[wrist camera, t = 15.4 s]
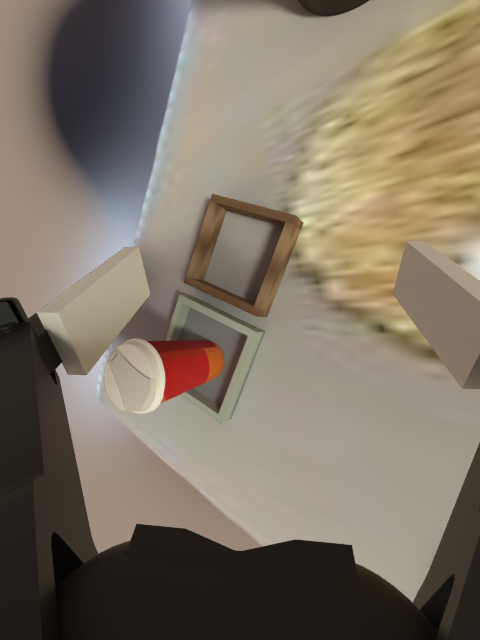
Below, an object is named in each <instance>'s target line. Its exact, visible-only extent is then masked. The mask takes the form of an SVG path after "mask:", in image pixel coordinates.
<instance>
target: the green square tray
mask: <svg viewBox="0 0 480 640" xmlns="http://www.w3.org/2000/svg"><path fill="white" fill-rule="evenodd" d="M264 332H265V331H262V330H260V329H258V328H256V327H254V326H252V325H250V324H248V323H246V322H244V321H242V320H240V319H238V318H236V317H234V316H231V315H229V314H227V313H225V312H223V311H221V310H219V309H217V308H215V307H213V306H211V305H209V304H207V303H205V302H203V301H200V300H198V299H196V298H194V297H192V296H190V295H181V294H180V295H179V298H178V301H177V304H176V307H175V310H174V313H173V317H172V320H171V323H170V326H169V329H168V332H167V335H166V338H165V341H175V340H208V341H212V342H214V343H216V344H217V345H218V346H219V347H220V349H221V350H222V353H223V356H224V367H223V370H222V372H221V373H220V375H219V376H217V377H216V378H214V379H213V380H211V381H209V382H207V383H204V384H202V385H200V386H198V387H196V388H193V389H191V390H189V391H187V392H185V393H182V394H180V395H181V396H182V397H184V398H185V399H186V400H188V401H189V402H191V403H192V404H193V405H195V406H196V407H198V408H199V409H201V410H202V411H203V412H205V413H206V414H208V415H209V416H210V417H212V418H213V419H215V420H216V421H218V422H219V423H220V424H223V423H224V422H226V421H228V420H229V419H231V417H232V414H233V412H234V409H235V406H236V404H237V401H238V399H239V396H240V394H241V391H242V389H243V386H244V383H245V381H246V378H247V376H248V373H249V371H250V368H251V366H252V363H253V360H254V358H255V355H256V353H257V350H258V348H259V345H260V343H261V340H262V337H263V335H264Z"/></svg>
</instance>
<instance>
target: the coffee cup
mask: <svg viewBox="0 0 480 640" xmlns="http://www.w3.org/2000/svg"><path fill="white" fill-rule="evenodd" d="M223 367H224V356H223V353H222V350H221V349H220V347H219V346H218V345H217V344H216V343H214V342H212V341H208V340H175V341H145V340H142V339H138V338H134V339H129V340H127V341H125V342H124V343H123V344H121V345H119V346H117V349H116V350H114V351H113V352H112V354H111V355H110V357H109V360H107V361H106V365H105V372H104V378H105V385H106V389H107V392H108V394H109V396H110V398H111V400H112V401H113V403H114V404H115V405H116V406H117V407H118V408H119V409H121V410H123V411H131V412H134V413H139V414H143V413H147V412H151V411H154V410H155V409H156V408H157V407H158V406H159V404H160V403H162V402H165V401H167V400H169V399H171V398H173V397H176V396H178V395H180V394H182V393H185V392H187V391H189V390H191V389H193V388H196V387H198V386H200V385H202V384H204V383H207V382H209V381H211V380H213V379H214V378H216V377H217V376H219V375H220V373H221V372H222V370H223Z"/></svg>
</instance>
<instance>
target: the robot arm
mask: <svg viewBox="0 0 480 640" xmlns="http://www.w3.org/2000/svg"><path fill="white" fill-rule="evenodd" d="M366 1H367V0H299V2H300V3H301V4H302V5H303V6H304V7H305V8H306V9H307V10H309V11H311V12H313V13H317V14H322V15H331V14H337V13H341V12H345V11H348V10H350V9H353V8H355V7H357V6H359V5H361V4H362V3H364V2H366ZM149 295H150V290H149V286H148V282H147V278H146V274H145V270H144V266H143V262H142V258H141V254H140V250H139V247H124V248H123V249H122V250H120V251H119V252H118V253H116V254H115V255H113V256H112V257H111V258H109V259H108V260H107V261H105V262H104V263H103V264H101V265H100V266H99V267H98V268H96V269H95V270H93V271H92V272H91V273H89V274H88V275H87V276H85V277H84V278H83V279H81V280H80V281H78V282H77V283H76V284H74V285H73V286H72V287H70V288H69V289H68V290H66V291H65V292H64V293H62V294H61V295H60V296H58V297H57V298H56V299H54V300H53V301H51V302H50V303H49V304H47V305H46V306H45V307H43V308H42V309H41V310H39V311H38V312H37V313H35V314H34V315H33V316H31V317H30V318H29V319H28V317H27V315H26V314H25V312H24V310H23V308H22V306H21V304H20V302H19V300H18V299H17V298H12V297H10V298H2V299H0V640H480V443H479V446H478V448H477V451H476V453H475V456H474V458H473V461H472V463H471V466H470V468H469V471H468V473H467V476H466V478H465V481H464V484H463V486H462V489H461V491H460V494H459V496H458V499H457V501H456V504H455V506H454V509H453V511H452V514H451V516H450V519H449V521H448V524H447V527H446V529H445V532H444V534H443V537H442V539H441V542H440V544H439V547H438V549H437V552H436V554H435V557H434V559H433V562H432V565H431V567H430V569H429V572H428V574H427V576H426V578H425V580H424V582H423V584H422V586H421V588H420V589H419V591H418V593H417V595H416V597H415V599H414V601H413V603H412V602H411V601H410V600H409V599H408V598H407V597H406V596H405V595H404V594H402V593H401V592H400V591H399V590H398V589H397V588H395V587H394V586H393V585H392V584H390V583H389V582H387V581H386V580H385V579H383V578H382V577H380V576H379V575H377V574H375V573H374V572H372V571H370V570H368V569H367V568H365V567H363V566H360V565H358V564H356V563H355V560H354V554H353V549H352V545H345V544H335V543H325V542H315V541H305V540H291V541H287V542H282V543H277V544H273V545H268V546H263V547H259V548H254V549H249V550H245V551H235V550H232V549H230V548H228V547H225V546H223V545H221V544H219V543H216V542H214V541H212V540H210V539H208V538H205V537H203V536H201V535H199V534H196V533H194V532H192V531H189V530H187V529H182V528H173V527H162V526H152V525H142V524H136V527H135V530H134V533H133V536H132V538H131V541H128V542H124V543H122V544H119V545H116V546H113V547H111V548H109V549H108V550H105V551H103V552H101V553H99V554H98V552H97V550H96V548H95V545H94V542H93V539H92V536H91V532H90V527H89V522H88V517H87V512H86V507H85V502H84V497H83V492H82V487H81V482H80V477H79V473H78V468H77V463H76V458H75V453H74V448H73V444H72V438H71V433H70V428H69V424H68V418H67V414H66V409H65V404H64V399H63V394H62V389H61V385H60V379H59V376H58V374H57V372H56V370H55V369H56V368H57V367H58V366H59V365H60V363H62V364H63V366H64V368H65V370H66V372H67V374H69V375H87V374H88V372H89V371H90V370H91V369H92V368H93V366H94V365H95V364H96V362H97V361H98V360H99V359H100V357H101V356H102V355H103V354H104V352H105V351H106V350H107V348H108V347H109V346H110V345H111V343H112V342H113V341H114V340H115V338H116V337H117V336H118V335H119V333H120V332H121V331H122V329H123V328H124V327H125V326H126V324H127V323H128V322H129V321H130V319H131V318H132V317H133V316H134V314H135V313H136V312H137V310H138V309H139V308H140V307H141V305H142V304H143V303H144V302H145V300H146V299H147V298H148V297H149ZM393 295H394V296H395V298H396V299H397V300H398V302H399V303H400V304H401V306H402V307H403V308H404V310H405V311H406V313H407V314H408V315H409V317H410V318H411V319H412V321H413V322H414V323H415V325H416V326H417V328H418V329H419V330H420V332H421V333H422V334H423V336H424V337H425V338H426V340H427V341H428V343H429V344H430V345H431V347H432V348H433V349H434V351H435V352H436V353H437V355H438V356H439V358H440V359H441V360H442V362H443V363H444V364H445V366H446V367H447V368H448V370H449V371H450V373H451V374H452V375H453V377H454V378H455V379H456V381H457V382H458V383H459V385H460V386H461V388H465V389H480V281H479V280H478V279H476V278H475V277H473V276H472V275H471V274H469V273H468V272H466V271H465V270H464V269H462V268H461V267H460V266H458V265H457V264H455V263H454V262H453V261H451V260H450V259H448V258H447V257H446V256H444V255H443V254H441V253H440V252H439V251H437V250H436V249H434V248H433V247H432V246H430V245H429V244H427V243H426V242H425V241H406V245H405V249H404V253H403V257H402V261H401V264H400V268H399V272H398V276H397V280H396V284H395V288H394V292H393Z"/></svg>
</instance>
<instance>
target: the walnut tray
mask: <svg viewBox="0 0 480 640" xmlns="http://www.w3.org/2000/svg"><path fill="white" fill-rule="evenodd" d="M227 210H229V211H233V212H236V213H240V214H243V215H247V216H250V217H254V218H258V219H261V220H265V221H268V222H272V223H275V224H279V225H282V226H284V228H283V230H282V233H281V235H280V238H279V241H278V243H277V246H276V249H275V251H274V254H273V257H272V259H271V262H270V265H269V267H268V270H267V273H266V275H265V278H264V281H263V283H262V286H261V289H260V291H259V294H258V297H257V299H256V302H255V303H253V302H250V301H248V300H246V299H244V298H241V297H239V296H237V295H234V294H232V293H230V292H228V291H225V290H223V289H221V288H219V287H216V286H214V285H212V284H210V283H207V282H205V281H203V280H204V277H205V274H206V271H207V268H208V265H209V262H210V259H211V256H212V253H213V250H214V247H215V244H216V241H217V238H218V235H219V232H220V229H221V226H222V223H223V220H224V217H225V214H226V211H227ZM302 225H303V222H302V221H301V220H300V219H299V218H298V217H297V216H295V215H292V214H288V213H284V212H280V211H276V210H272V209H268V208H265V207H261V206H257V205H253V204H249V203H245V202H242V201H238V200H234V199H230V198H226V197H222V196H218V195H215V194H212V196H211V199H210V202H209V206H208V209H207V212H206V215H205V218H204V221H203V224H202V227H201V231H200V234H199V237H198V240H197V243H196V246H195V249H194V252H193V256H192V259H191V262H190V265H189V268H188V271H187V274H186V277H185V281H184V283H186V284H188V285H190V286H192V287H195V288H197V289H199V290H201V291H203V292H205V293H207V294H210V295H212V296H214V297H216V298H218V299H220V300H223V301H225V302H227V303H229V304H231V305H233V306H236V307H238V308H240V309H242V310H244V311H246V312H249V313H251V314H253V315H255V316H257V317H267V315H268V313H269V310H270V308H271V305H272V302H273V300H274V297H275V295H276V292H277V290H278V287H279V284H280V282H281V279H282V277H283V274H284V272H285V269H286V266H287V264H288V261H289V259H290V256H291V254H292V251H293V248H294V246H295V243H296V241H297V238H298V236H299V233H300V230H301V228H302Z"/></svg>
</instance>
